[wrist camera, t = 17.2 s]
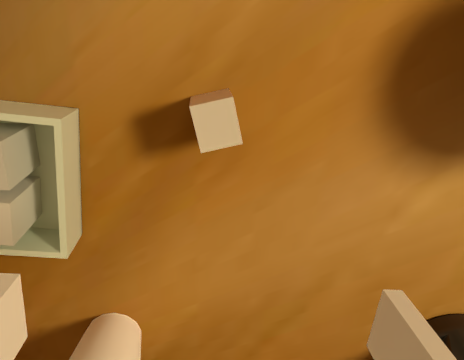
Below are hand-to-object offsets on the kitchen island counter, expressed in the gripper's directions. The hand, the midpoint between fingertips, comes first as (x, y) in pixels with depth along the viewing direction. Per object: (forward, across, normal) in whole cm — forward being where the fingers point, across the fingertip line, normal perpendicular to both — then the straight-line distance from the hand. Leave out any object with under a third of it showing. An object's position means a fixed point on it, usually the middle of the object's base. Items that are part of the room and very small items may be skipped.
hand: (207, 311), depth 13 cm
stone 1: (+23, +18, +1) cm, 29 cm away
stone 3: (+24, 0, -3) cm, 24 cm away
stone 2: (+23, +18, +6) cm, 30 cm away
